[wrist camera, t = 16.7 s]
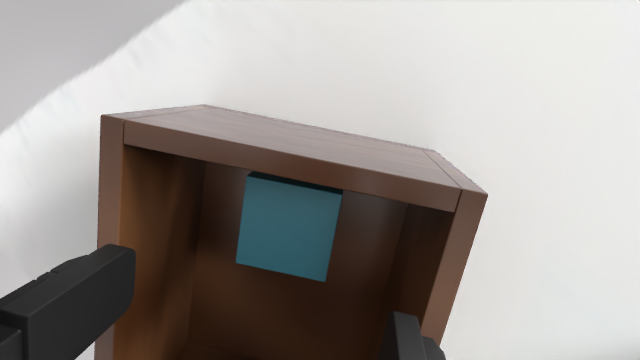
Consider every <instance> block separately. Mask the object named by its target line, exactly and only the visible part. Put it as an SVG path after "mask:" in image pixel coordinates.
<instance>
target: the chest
mask: <svg viewBox="0 0 640 360" xmlns="http://www.w3.org/2000/svg"><path fill="white" fill-rule="evenodd" d="M252 171H256V172H261V173H266V174H270V175H275V176H280V177H285V178H290V179H294V180H299V181H304V182H309V183H314V184H318V185H323V186H328V187H333V188H338V189H342V190H344V191H343V197H342V202H341V207H340V212H339V217H338V221H337V226H336V231H335V236H334V241H333V246H332V251H331V256H330V261H329V266H328V271H327V276H326V281H325V282H323V281H318V280H313V279H309V278H304V277H299V276H295V275H290V274H285V273H281V272H276V271H271V270H267V269H262V268H257V267H253V266H248V265H243V264H239V263H236V254H237V246H238V238H239V231H240V223H241V215H242V207H243V199H244V191H245V183H246V176H247V175H248V174H250V173H251V172H252ZM487 197H488V194H487V193H486V192H485V191H484V190H483V189H481V188H480V187H479V186H478V185H476V184H475V183H474V182H473V181H472V180H470V179H469V178H468V177H467V176H465V175H464V174H463V173H462V172H461V171H459V170H458V169H457V168H456V167H454V166H453V165H452V164H451V163H450V162H448V161H447V160H446V159H445V158H443V157H442V156H441V155H440V154H439V153H437V152H436V151H434V150H430V149H425V148H420V147H415V146H410V145H405V144H400V143H395V142H390V141H385V140H380V139H375V138H369V137H364V136H359V135H354V134H349V133H344V132H339V131H334V130H329V129H324V128H319V127H314V126H309V125H304V124H299V123H294V122H289V121H284V120H279V119H274V118H269V117H264V116H259V115H254V114H249V113H244V112H239V111H234V110H229V109H224V108H219V107H214V106H209V105H194V106H184V107H175V108H165V109H155V110H145V111H135V112H125V113H115V114H105V115H101V123H100V161H99V200H98V238H97V249H99V248H101V247H102V246H104V245H106V244H115V245H119V246H123V247H127V248H131V249H134V250H135V251H136V272H135V288H134V297H133V300H132V302H131V305H130V306H129V308H128V310H127V311H126V312H125V313H124V314H123V315H122V316H121V317H120V318H119V319H118V320H117V321H116V322H115V323H114V324H113V325H112V326H110V327H109V328H108V329H107V330H106V331H105V332H104V333H103V334H102V335H101V336H100V337H99V338H97V339H96V340H95V354H94V360H377V358H378V353H379V350H380V346H381V342H382V339H383V335H384V332H385V328H386V324H387V321H388V317H389V314H390V312H391V311H397V312H401V313H405V314H409V315H413V316H417V318H418V322H419V326H420V330H421V335H422V336H425V337H429V338H433V339H434V341H435V342H436V343H437V345H438V346H440V343H441V340H442V337H443V334H444V331H445V327H446V324H447V321H448V318H449V315H450V312H451V309H452V306H453V303H454V300H455V296H456V293H457V290H458V287H459V284H460V281H461V278H462V275H463V272H464V269H465V265H466V262H467V259H468V256H469V253H470V250H471V247H472V244H473V241H474V238H475V234H476V231H477V228H478V225H479V222H480V219H481V216H482V213H483V210H484V207H485V203H486V200H487Z"/></svg>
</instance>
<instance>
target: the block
mask: <svg viewBox="0 0 640 360" xmlns="http://www.w3.org/2000/svg"><path fill="white" fill-rule="evenodd" d="M343 191H344V190H342V189H338V188H333V187H328V186H323V185H318V184H314V183H309V182H304V181H299V180H294V179H290V178H285V177H280V176H275V175H270V174H266V173H261V172H256V171H252V172H251V173H250V174H248V175H247V176H246V183H245V191H244V199H243V207H242V215H241V223H240V231H239V238H238V246H237V254H236V263H239V264H243V265H248V266H253V267H257V268H262V269H267V270H271V271H276V272H281V273H285V274H290V275H295V276H299V277H304V278H309V279H313V280H318V281H323V282H325V281H326V276H327V271H328V266H329V261H330V256H331V251H332V246H333V241H334V236H335V231H336V226H337V221H338V217H339V212H340V207H341V202H342V197H343Z"/></svg>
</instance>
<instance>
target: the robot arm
mask: <svg viewBox="0 0 640 360" xmlns="http://www.w3.org/2000/svg"><path fill="white" fill-rule="evenodd" d="M135 272H136V251H135V250H134V249H131V248H127V247H123V246H119V245H115V244H106V245H104V246H102V247H101V248H99V249H97V250H96V251H94V252H92V253H91V254H89V255H84V256H81V257H78V258H75V259H71V260H68V261H66V262H64V263H62V264H60V265H59V266H57V267H55V268H53V269H52V270H51V271H50V272H46V273H45V274H43V275H41V276H39V277H38V278H37V280H32V281H31V282H29V283H27V284H25V285H24V286H22V287H20V288H18V289H17V290H15V291H13V292H11V293H10V294H8V295H6V296H4V297H3V298H1V299H0V360H75V359H76V358H77V357H78V356H79V355H80V354H81V353H82V352H83V351H85V350H86V348H88V347H89V346H90V345H91V344H92V343H93V342H94V341H95V340H96V339H97V338H99V337H100V336H101V335H102V334H103V333H104V332H105V331H106V330H107V329H108V328H109V327H110V326H112V325H113V324H114V323H115V322H116V321H117V320H118V319H119V318H120V317H121V316H122V315H123V314H124V313H125V312H126V311H127V310H128V308H129V306H130V305H131V302H132V300H133V297H134V288H135ZM377 360H446V358H445V355H444V352H443V351H442V350H441V349H440V347H439V346H438V345H437V343H436V342H435V341H434V339H433V338H429V337H425V336H422V335H421V330H420V326H419V322H418V318H417V316H413V315H409V314H405V313H401V312H397V311H391V312H390V314H389V317H388V321H387V324H386V328H385V332H384V335H383V339H382V342H381V346H380V350H379V353H378V358H377Z"/></svg>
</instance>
